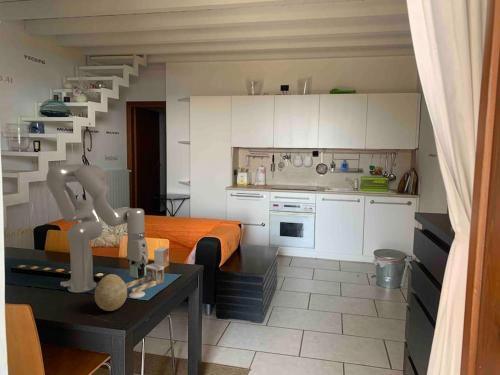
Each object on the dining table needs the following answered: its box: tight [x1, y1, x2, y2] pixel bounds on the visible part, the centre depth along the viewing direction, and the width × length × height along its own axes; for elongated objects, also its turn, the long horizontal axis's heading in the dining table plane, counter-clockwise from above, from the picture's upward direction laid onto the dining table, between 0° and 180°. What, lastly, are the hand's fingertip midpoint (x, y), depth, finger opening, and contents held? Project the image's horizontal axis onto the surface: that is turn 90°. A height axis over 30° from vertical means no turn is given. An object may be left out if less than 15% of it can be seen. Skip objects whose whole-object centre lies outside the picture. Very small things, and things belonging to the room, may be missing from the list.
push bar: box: [138, 273, 161, 285], centre depth 183 cm, size 12×4×2 cm, turn 143°
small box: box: [153, 246, 170, 269], centre depth 206 cm, size 8×6×10 cm
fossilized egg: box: [93, 273, 128, 312], centre depth 150 cm, size 13×13×15 cm
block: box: [129, 262, 146, 279], centre depth 165 cm, size 5×5×5 cm
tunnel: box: [125, 262, 165, 292], centre depth 177 cm, size 18×9×8 cm, turn 144°
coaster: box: [128, 290, 146, 299], centre depth 166 cm, size 7×7×1 cm
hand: (137, 274), depth 165 cm, fingers closed on block, 5 cm apart
